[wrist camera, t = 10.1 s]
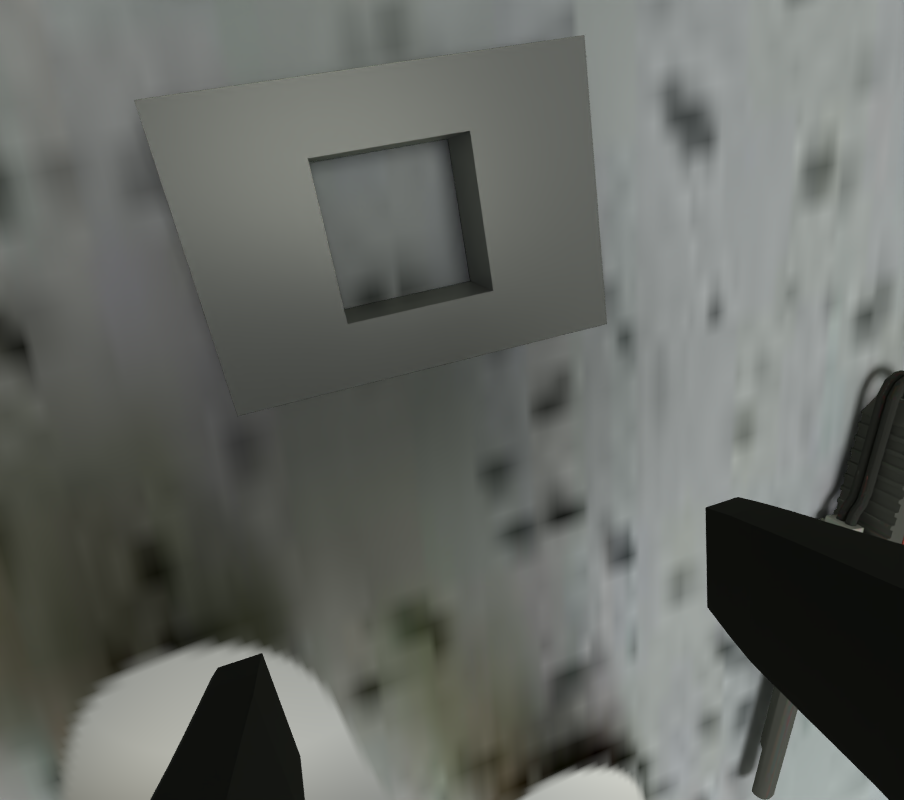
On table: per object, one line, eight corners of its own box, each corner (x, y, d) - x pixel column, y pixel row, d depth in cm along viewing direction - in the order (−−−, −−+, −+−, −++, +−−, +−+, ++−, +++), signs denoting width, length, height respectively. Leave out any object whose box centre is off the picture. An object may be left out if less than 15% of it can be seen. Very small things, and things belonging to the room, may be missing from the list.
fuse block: (242, 391, 16) (237, 416, 14) (153, 112, 14) (134, 99, 12) (573, 311, 18) (606, 323, 16) (548, 54, 16) (584, 35, 14)
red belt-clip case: (819, 364, 22) (719, 773, 28) (941, 400, 18) (793, 869, 24) (989, 359, 24) (863, 737, 30) (1131, 390, 20) (952, 819, 26)
